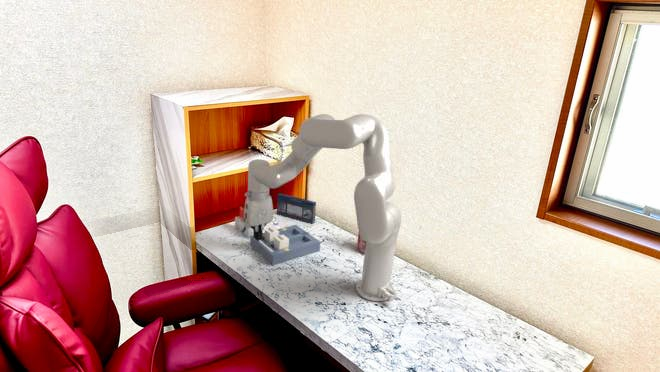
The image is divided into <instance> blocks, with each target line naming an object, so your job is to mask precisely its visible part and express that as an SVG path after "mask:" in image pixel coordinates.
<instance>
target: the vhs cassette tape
mask: <svg viewBox="0 0 660 372" xmlns="http://www.w3.org/2000/svg"><path fill="white" fill-rule="evenodd" d="M276 195H277V198H276V201H277V203H276V216H277V215H278V216H280V215H281V217H285V218H287V217H288V218H287V219H291V220H294V219H295V221H298V220H299V222H302V223H305V222H306V223H305V224H309V223H310V225H313V224H314V223H315V222H316V207H317V202H316V201H312V200H309V199H305V198H301V197H296V196H293V195H290V194H289V195H288V194H284V193H278V194H276Z"/></svg>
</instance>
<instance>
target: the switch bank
mask: <svg viewBox="0 0 660 372" xmlns="http://www.w3.org/2000/svg"><path fill="white" fill-rule="evenodd" d="M276 229H277V230H278V231H279V235H284V236H286V237H287V238H288V239H289V247H287V248H284V249H281V250H277V251H276V250H274V241H271V242H267V243H266V242H265V241H264V237H265V232H262V240H259V241H257V240H256V239H255V238H254V237H253V236H250V238H249V239H250V243H249V246H250V247H251V248H252V249H254V250H255V251H256V252H257V253H258V254H259V255H261V257H263V258H264V259H265V260H266V261H267V262H268V263H270V264H271V265H272V266H276V265H278V264H282V263H285V262H288V261H291V260H294V259H297V258H301V257H304V256H308V255H311V254H315V253H318V252H320V251H321V241H320V240H319V239H318V238H316V237H314V236H313V235H312V234H310V233H309V232H308V231H306V230H304V229H303V228H302V227H300V226H298V225H297V224H293V225H288V226H285V227H281V228H276Z"/></svg>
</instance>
